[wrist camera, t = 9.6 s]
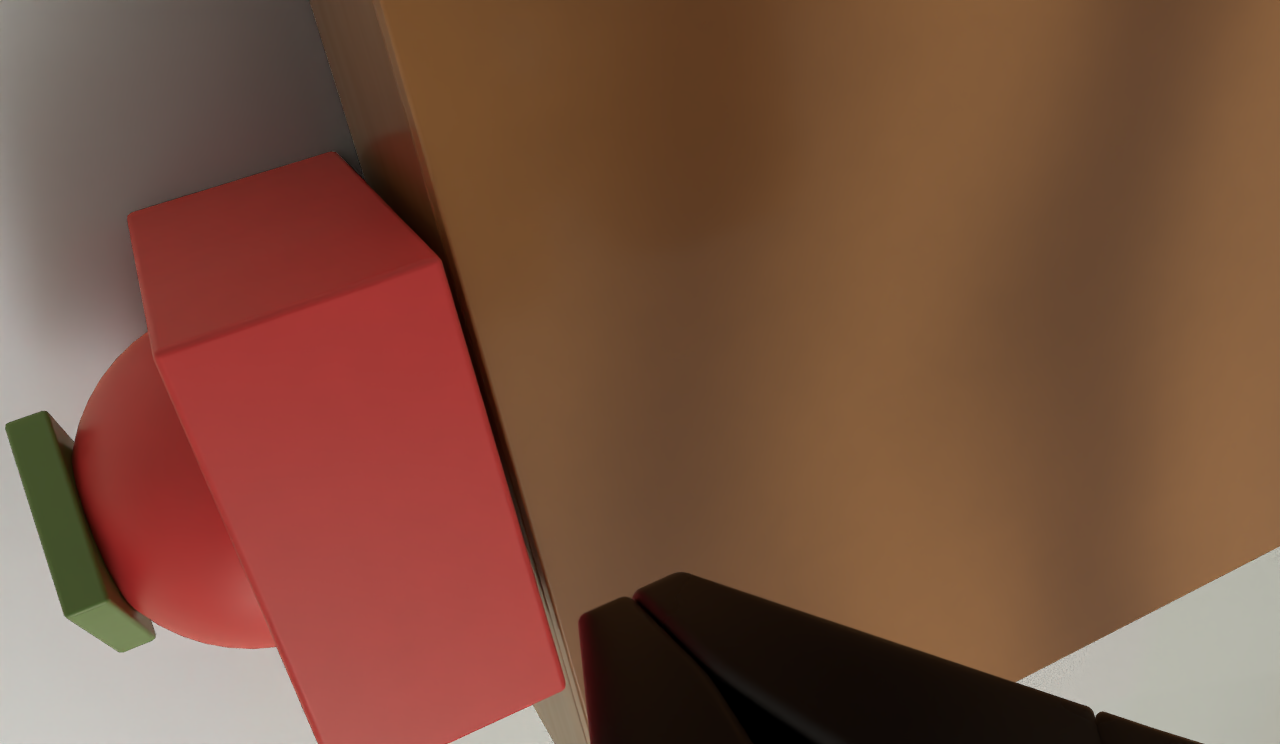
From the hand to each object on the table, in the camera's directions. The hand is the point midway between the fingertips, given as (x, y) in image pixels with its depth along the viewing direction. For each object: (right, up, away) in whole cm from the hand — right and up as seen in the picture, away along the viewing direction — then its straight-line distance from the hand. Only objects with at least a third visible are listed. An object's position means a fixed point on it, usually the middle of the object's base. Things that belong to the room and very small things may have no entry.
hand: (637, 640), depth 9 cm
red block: (-2, +2, +4) cm, 5 cm away
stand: (+4, +5, +8) cm, 11 cm away
